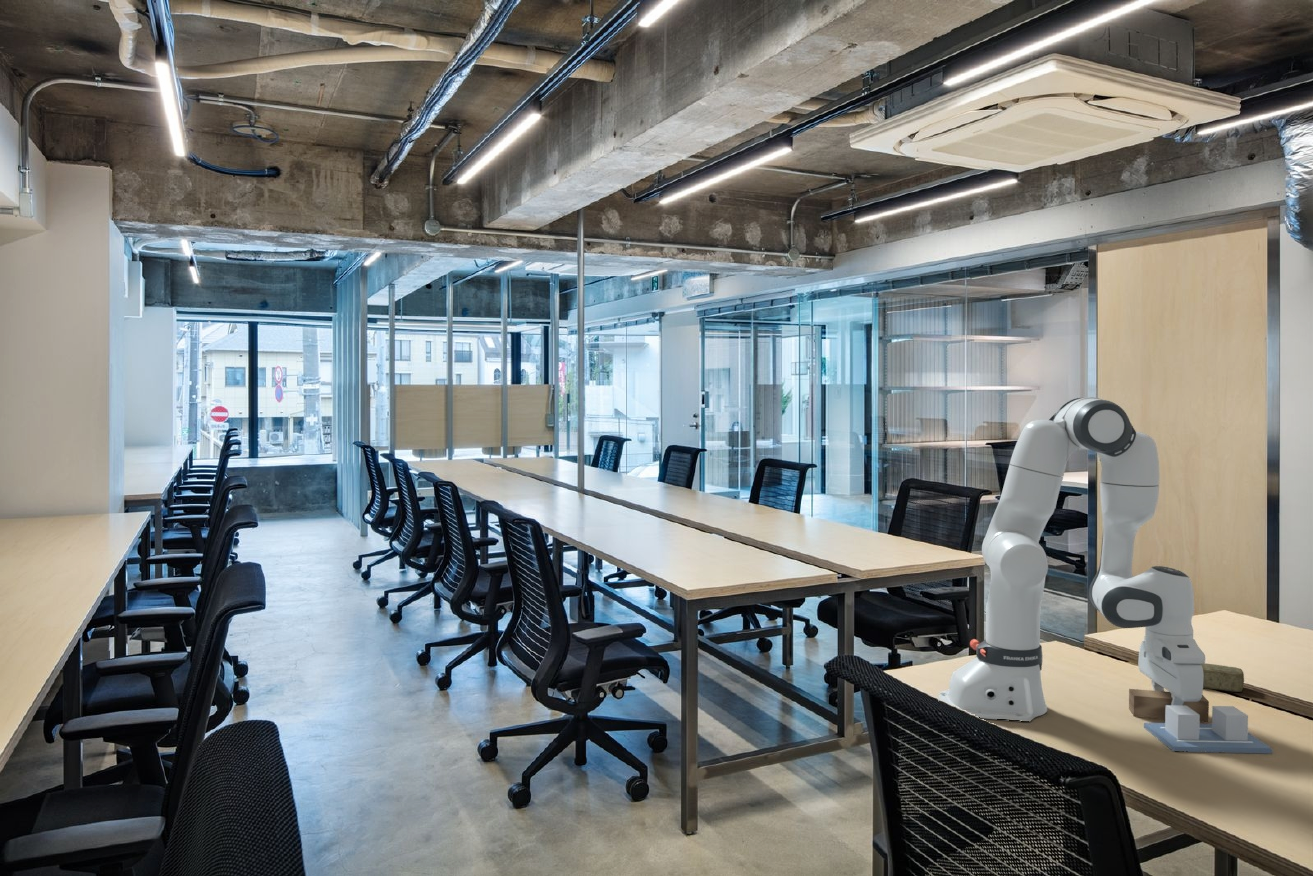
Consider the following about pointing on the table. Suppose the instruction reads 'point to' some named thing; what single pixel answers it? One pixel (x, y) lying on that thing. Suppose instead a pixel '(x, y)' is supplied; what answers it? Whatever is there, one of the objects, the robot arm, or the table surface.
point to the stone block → (1222, 677)
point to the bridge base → (1207, 731)
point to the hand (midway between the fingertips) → (1167, 707)
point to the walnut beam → (1161, 704)
